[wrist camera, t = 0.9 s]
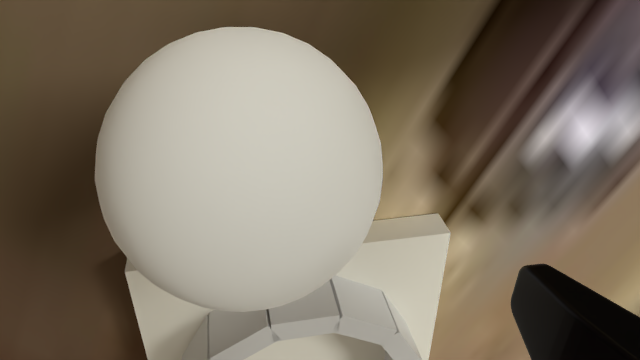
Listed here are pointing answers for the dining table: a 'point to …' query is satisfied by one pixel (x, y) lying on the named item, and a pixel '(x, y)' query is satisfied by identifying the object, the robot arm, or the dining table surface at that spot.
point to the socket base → (317, 307)
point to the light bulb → (238, 169)
